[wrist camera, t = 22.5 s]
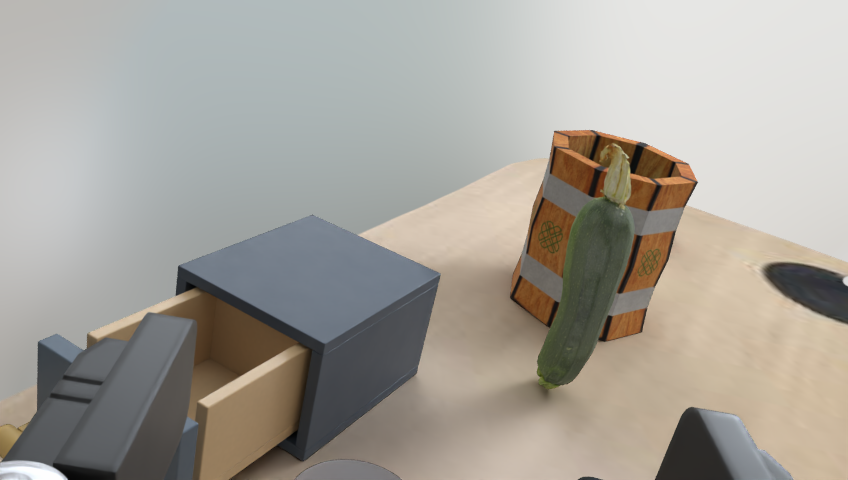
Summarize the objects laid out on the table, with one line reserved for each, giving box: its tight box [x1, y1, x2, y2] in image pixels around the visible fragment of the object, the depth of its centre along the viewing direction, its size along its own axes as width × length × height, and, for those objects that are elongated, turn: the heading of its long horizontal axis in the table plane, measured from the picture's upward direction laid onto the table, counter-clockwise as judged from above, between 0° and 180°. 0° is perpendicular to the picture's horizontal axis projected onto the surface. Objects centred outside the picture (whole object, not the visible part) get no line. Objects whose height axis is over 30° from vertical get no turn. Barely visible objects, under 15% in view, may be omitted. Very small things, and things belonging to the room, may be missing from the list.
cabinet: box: [176, 215, 441, 461], centre depth 55 cm, size 14×12×9 cm
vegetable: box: [537, 143, 635, 389], centre depth 58 cm, size 4×4×20 cm
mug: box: [510, 130, 698, 341], centre depth 76 cm, size 20×14×15 cm
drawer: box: [0, 287, 313, 480], centre depth 45 cm, size 17×10×7 cm, turn 149°
